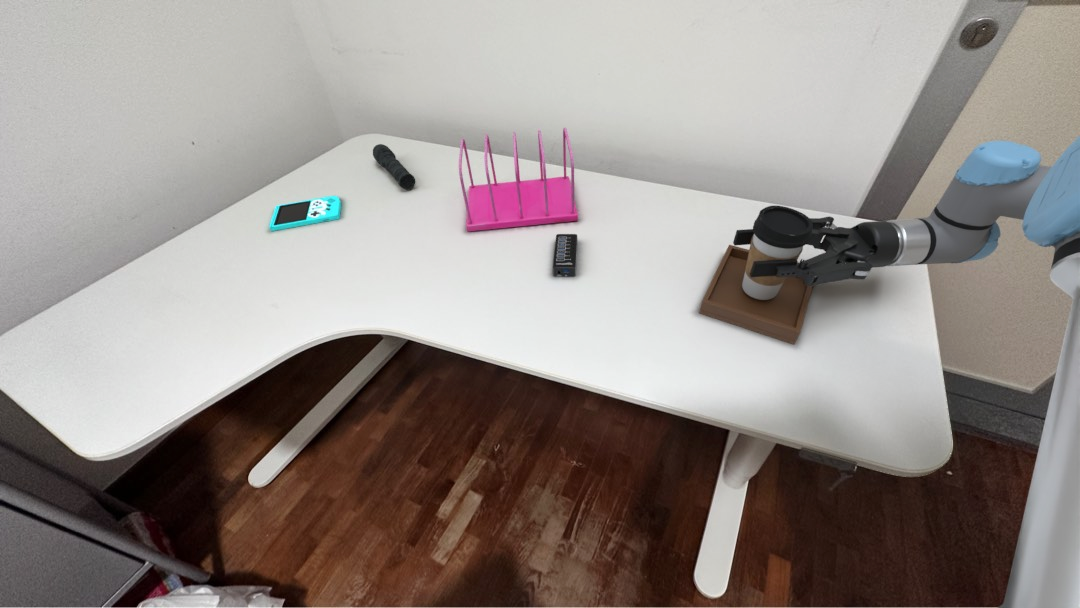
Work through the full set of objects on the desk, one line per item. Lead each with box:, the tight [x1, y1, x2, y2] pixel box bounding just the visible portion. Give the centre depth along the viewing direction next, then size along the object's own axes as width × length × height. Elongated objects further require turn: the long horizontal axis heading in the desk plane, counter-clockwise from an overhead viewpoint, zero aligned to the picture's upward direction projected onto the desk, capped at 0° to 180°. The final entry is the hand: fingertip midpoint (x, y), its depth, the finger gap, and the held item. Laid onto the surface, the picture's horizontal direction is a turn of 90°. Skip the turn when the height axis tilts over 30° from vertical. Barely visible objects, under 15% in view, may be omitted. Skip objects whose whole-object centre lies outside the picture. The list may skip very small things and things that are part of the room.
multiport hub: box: [552, 233, 578, 278], centre depth 93 cm, size 4×11×2 cm, turn 175°
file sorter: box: [458, 127, 579, 232], centre depth 103 cm, size 17×25×16 cm
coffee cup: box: [742, 205, 813, 300], centre depth 76 cm, size 8×8×15 cm
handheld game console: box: [268, 195, 342, 232], centre depth 111 cm, size 10×16×1 cm, turn 103°
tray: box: [698, 244, 814, 345], centre depth 81 cm, size 18×16×3 cm
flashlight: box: [372, 143, 417, 191], centre depth 121 cm, size 5×21×5 cm, turn 33°
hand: (743, 252), depth 75 cm, fingers closed on coffee cup, 8 cm apart
